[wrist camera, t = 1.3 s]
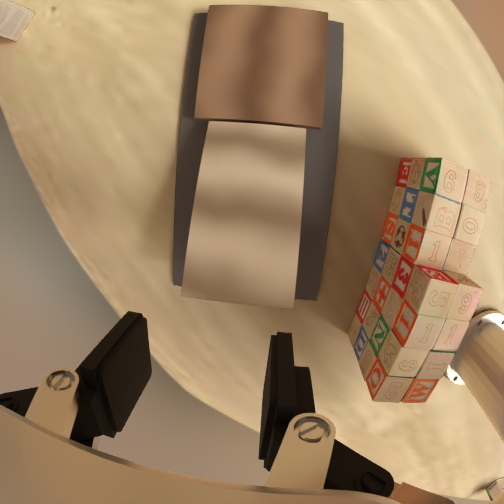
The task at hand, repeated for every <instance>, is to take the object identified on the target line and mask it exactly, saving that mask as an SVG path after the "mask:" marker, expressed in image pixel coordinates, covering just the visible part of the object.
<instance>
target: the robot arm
mask: <svg viewBox="0 0 504 504" xmlns="http://www.w3.org/2000/svg"><path fill="white" fill-rule="evenodd" d="M151 373H152V368H151V359H150V350H149V340H148V328H147V319H146V318H144V317H143V315H142V314H141V313H136V312H131V311H128V312H127V313H126V314H125V315H124V316H123V317H122V318H121V319H120V321H119V322H118V323H117V324H116V325H115V326H114V327H113V328H112V329H111V330H110V332H109V333H108V334H107V335H106V336H105V337H104V339H102V340H101V342H100V343H99V344H98V345H97V346H96V347H95V348H94V349H93V351H92V352H91V353H90V354H89V355H88V356H87V357H86V358H85V360H84V361H83V362H82V363H81V364H80V365H79V367H78V368H77V369H76V370H75V371H73V370H71V369H68V368H57V369H54V370H51V371H49V372H48V373H47V374H46V375H45V376H44V377H43V380H42V382H41V384H40V386H39V387H35V388H30V389H25V390H20V391H14V392H9V393H4V394H0V504H455V503H454V502H453V501H452V500H450V499H448V498H445V497H443V496H440V495H437V494H434V493H431V492H428V491H425V490H422V489H420V488H417V487H414V486H412V485H409V484H407V483H404V482H402V483H401V485H400V484H398V483H396V482H394V480H393V477H392V476H391V474H390V473H389V472H388V471H387V470H385V469H384V468H382V467H380V466H379V465H377V464H375V463H373V462H372V461H370V460H368V459H367V458H365V457H363V456H362V455H360V454H358V453H357V452H355V451H353V450H352V449H350V448H348V447H347V446H345V445H344V444H342V443H341V442H339V441H337V440H336V439H335V434H336V431H335V426H334V424H333V423H332V422H331V421H330V420H329V419H328V418H326V417H325V416H323V415H320V414H316V413H315V405H314V397H313V390H312V383H311V376H310V370H309V367H299V366H294V355H293V343H292V333H285V332H277V335H271V341H270V348H269V355H268V362H267V369H266V375H265V382H264V389H263V401H262V416H261V430H260V445H259V459H261V460H264V468H266V469H267V470H268V471H269V472H270V473H269V475H268V478H267V480H266V482H265V484H264V486H253V485H243V484H234V483H227V482H220V481H213V480H207V479H201V478H196V477H191V476H185V475H181V474H177V473H172V472H168V471H163V470H160V469H155V468H152V467H148V466H145V465H141V464H137V463H134V462H131V461H128V460H124V459H121V458H118V457H115V456H112V455H110V454H107V453H104V452H101V451H98V450H97V448H98V443H99V436H101V435H106V436H109V437H112V438H114V436H115V435H116V433H117V432H121V431H122V429H123V427H124V425H125V423H126V421H127V420H128V418H129V416H130V414H131V412H132V410H133V408H134V407H135V405H136V403H137V401H138V399H139V397H140V395H141V394H142V392H143V390H144V388H145V386H146V384H147V382H148V381H149V379H150V377H151ZM445 374H446V376H447V377H448V379H449V380H450V381H451V382H452V383H455V384H461V385H462V384H465V385H466V386H467V387H468V389H469V390H470V392H471V393H472V395H473V396H474V397H475V399H476V400H477V402H478V403H479V405H480V406H481V408H482V409H483V411H484V412H485V414H486V415H487V417H488V418H489V420H490V421H491V423H492V425H493V426H494V428H495V429H496V431H497V433H498V434H499V436H500V437H501V439H502V440H503V442H504V315H503V314H501V313H500V312H498V311H495V310H489V311H485V312H482V313H480V314H478V315H476V316H475V317H473V318H472V319H471V320H470V321H469V326H468V328H467V330H466V332H465V334H464V337H463V339H462V341H461V343H460V345H459V347H458V349H457V350H456V351H455V355H454V357H453V359H452V361H451V363H450V364H449V366H448V368H447V370H446V372H445ZM490 504H504V491H503V492H502V493H501V494H500V495H499V496H498V497H496V498H495V499H494V500H493V501H492V502H491V503H490Z"/></svg>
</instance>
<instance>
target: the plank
mask: <svg viewBox="0 0 504 504" xmlns="http://www.w3.org/2000/svg"><path fill="white" fill-rule="evenodd" d="M305 145H306V129H305V128H297V127H288V126H278V125H267V124H255V123H240V122H220V121H209V124H208V129H207V134H206V139H205V144H204V149H203V154H202V159H201V165H200V170H199V176H198V181H197V187H196V193H195V199H194V205H193V211H192V217H191V224H190V230H189V237H188V244H187V251H186V259H185V266H184V274H183V282H182V291H181V296H183V297H191V298H198V299H206V300H214V301H222V302H231V303H240V304H249V305H258V306H268V307H278V308H289V309H293V308H294V298H295V288H296V277H297V266H298V255H299V243H300V230H301V216H302V201H303V185H304V167H305Z"/></svg>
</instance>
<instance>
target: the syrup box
mask: <svg viewBox="0 0 504 504" xmlns="http://www.w3.org/2000/svg"><path fill="white" fill-rule="evenodd" d="M486 491H487V493H488V496H489V498H490V500H491V502H492V501H493V500H494V499H495V498H496V497H498V496H499V495H500V494H501V493H502V492H503V491H504V477H503V478H500V479H497V480H496V481H495V482H494V483H492V484H491V485H490V486H489V487H488V488H487V489H486Z"/></svg>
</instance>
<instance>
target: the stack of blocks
mask: <svg viewBox="0 0 504 504" xmlns="http://www.w3.org/2000/svg"><path fill="white" fill-rule="evenodd" d="M490 187H491V180H489V179H487V178H486V177H484V176H482V175H479V174H477V173H476V172H473V171H471V170H468V169H466V168H464V167H462V166H460V165H458V164H455V163H453V162H451V161H448V160H446V159H444V158H413V159H412V158H402V159H401V164H400V169H399V174H398V178H397V182H396V186H395V188H394V192H393V196H392V200H391V204H390V208H389V212H388V215H387V218H386V222H385V226H384V229H383V233H382V236H381V241H380V245H379V248H378V251H377V255H376V258H375V261H374V265H373V267H372V270H371V273H370V276H369V280H368V282H367V285H366V288H365V290H364V292H363V295H362V298H361V300H360V303H359V306H358V308H357V311H356V314H355V316H354V318H353V321H352V323H351V326H350V328H349V331H348V336H349V338H350V341H351V344H352V346H353V348H354V351H355V353H356V356H357V359H358V362H359V366H360V369H361V372H362V375H363V377H364V380H365V381H366V383H367V386H368V389H369V392H370V395H371V398H372V400H373V401H376V402H395V403H399V402H400V401H401V402H404V403H419V402H426V400H427V399H428V397H429V396H430V394H431V392H432V391H433V389H434V388H435V386H436V384H437V383H438V381H439V379H441V378H442V377H443V375H444V373H445V372H446V370H447V368H448V366H449V364H450V363H451V361H452V359H453V357H454V355H455V351H456V350H457V349H458V347H459V345H460V343H461V341H462V339H463V337H464V334H465V332H466V330H467V328H468V326H469V321H470V320H471V318H472V316H473V313H474V311H475V309H476V306H477V304H478V301H479V299H480V296H481V293H482V291H483V288H481V287H480V286H479V285H477V284H476V283H475V282H473V281H472V280H471V279H469V278H468V277H467V276H466V274H467V271H468V268H469V265H470V262H471V259H472V256H473V253H474V250H475V246H476V245H477V242H478V238H479V235H480V231H481V228H482V224H483V220H484V216H485V210H486V206H487V201H488V197H489V192H490Z"/></svg>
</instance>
